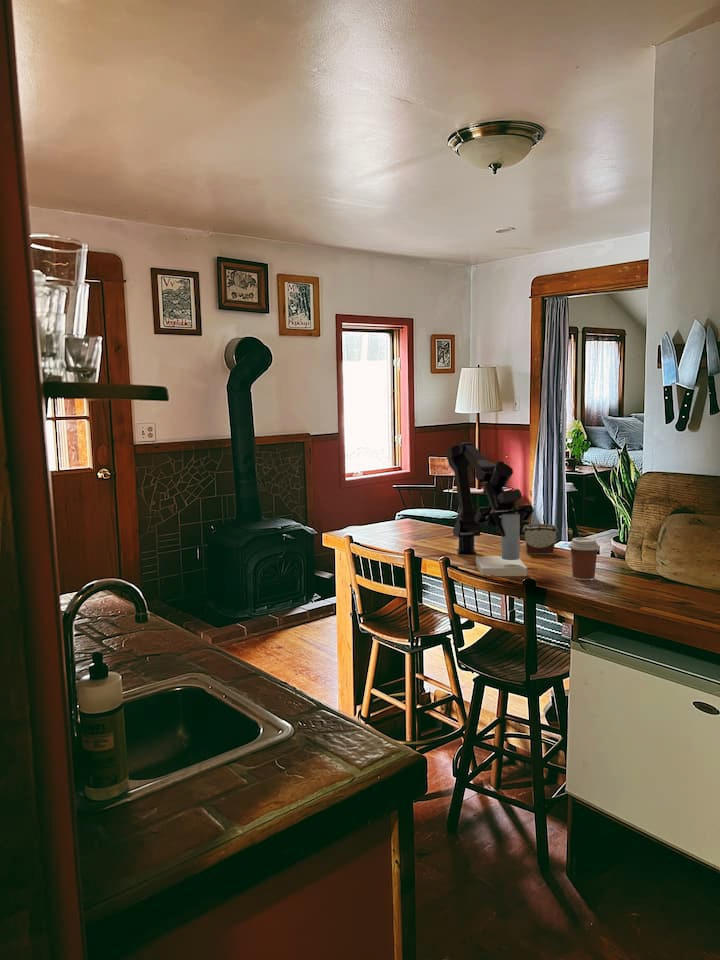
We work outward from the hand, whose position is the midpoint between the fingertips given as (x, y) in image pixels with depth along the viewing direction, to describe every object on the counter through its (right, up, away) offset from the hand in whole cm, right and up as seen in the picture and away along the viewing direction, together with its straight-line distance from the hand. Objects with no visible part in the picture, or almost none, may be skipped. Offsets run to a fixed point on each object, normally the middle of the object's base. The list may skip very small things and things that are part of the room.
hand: (512, 535), depth 222 cm
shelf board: (-2, -12, +7) cm, 14 cm away
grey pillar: (0, -7, +2) cm, 8 cm away
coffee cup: (+20, -13, -7) cm, 25 cm away
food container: (+17, -9, +33) cm, 38 cm away
